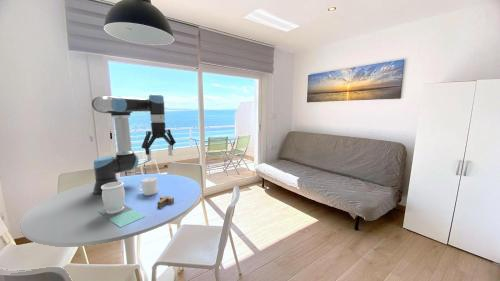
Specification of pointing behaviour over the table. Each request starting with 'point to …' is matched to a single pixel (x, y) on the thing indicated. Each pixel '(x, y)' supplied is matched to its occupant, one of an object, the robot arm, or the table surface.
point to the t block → (165, 200)
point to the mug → (149, 186)
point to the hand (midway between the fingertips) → (160, 157)
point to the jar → (113, 197)
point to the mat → (123, 216)
